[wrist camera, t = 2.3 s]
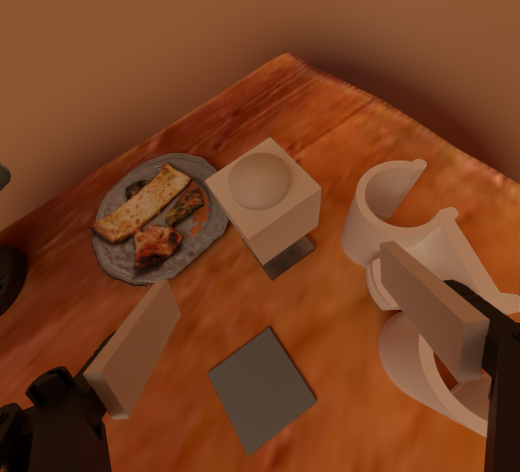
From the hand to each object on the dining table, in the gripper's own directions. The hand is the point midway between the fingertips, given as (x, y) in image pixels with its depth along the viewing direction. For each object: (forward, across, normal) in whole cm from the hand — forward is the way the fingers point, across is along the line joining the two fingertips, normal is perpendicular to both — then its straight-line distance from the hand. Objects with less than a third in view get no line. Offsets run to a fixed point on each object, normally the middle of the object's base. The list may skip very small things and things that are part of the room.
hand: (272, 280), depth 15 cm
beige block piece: (+16, 0, -1) cm, 16 cm away
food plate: (+29, -20, -1) cm, 35 cm away
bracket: (+15, +14, -14) cm, 25 cm away
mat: (+9, -5, -20) cm, 23 cm away
